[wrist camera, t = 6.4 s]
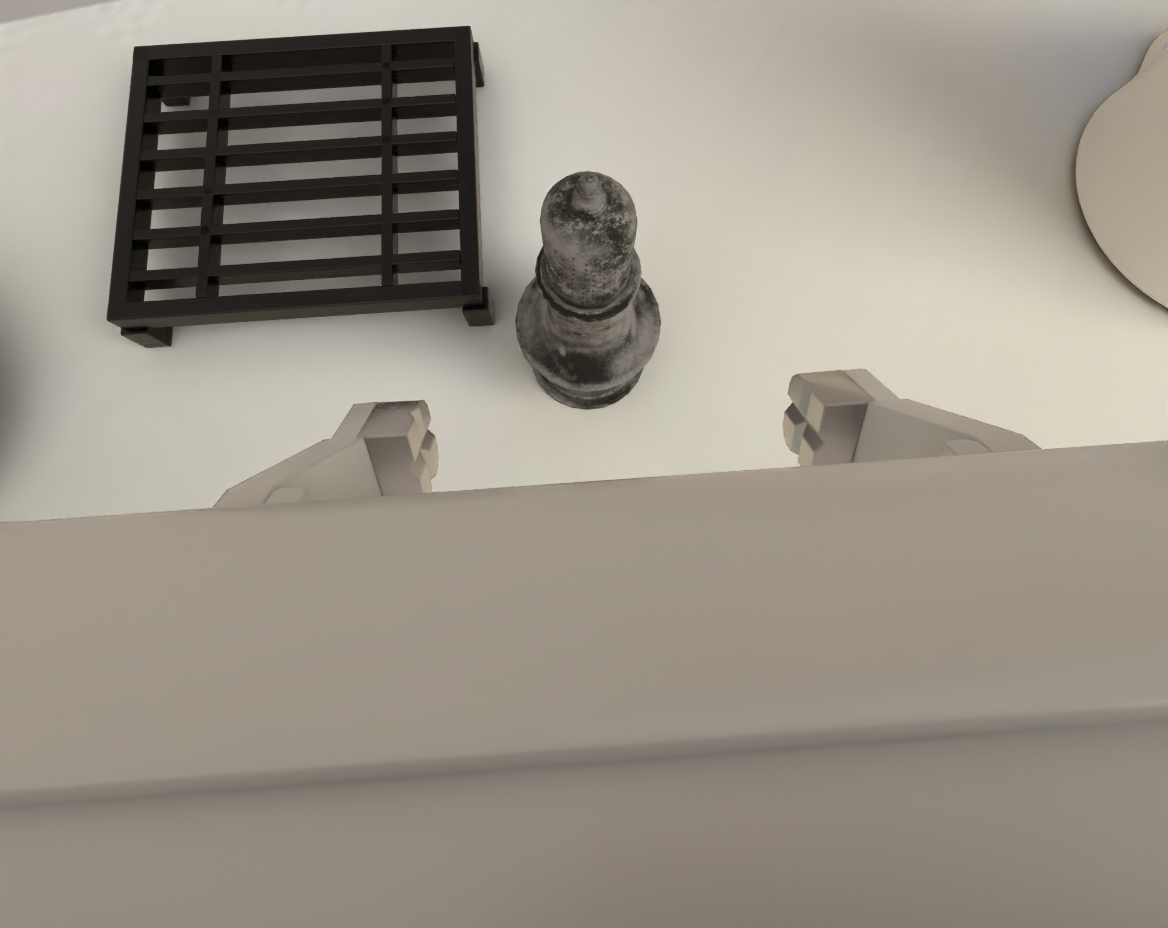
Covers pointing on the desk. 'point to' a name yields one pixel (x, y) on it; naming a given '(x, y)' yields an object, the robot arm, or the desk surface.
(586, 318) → the grey stone turned piece
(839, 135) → the desk surface
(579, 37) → the desk surface
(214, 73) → the grate
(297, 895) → the robot arm
